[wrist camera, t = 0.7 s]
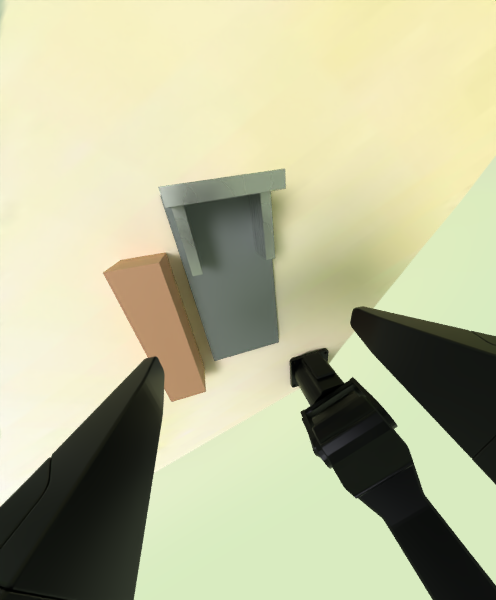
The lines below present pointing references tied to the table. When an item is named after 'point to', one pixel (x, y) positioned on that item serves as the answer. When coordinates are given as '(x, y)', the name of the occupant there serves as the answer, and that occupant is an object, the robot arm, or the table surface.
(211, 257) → the board
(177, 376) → the rail
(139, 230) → the table surface
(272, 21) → the table surface
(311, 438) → the robot arm
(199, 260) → the bracket
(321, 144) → the table surface
